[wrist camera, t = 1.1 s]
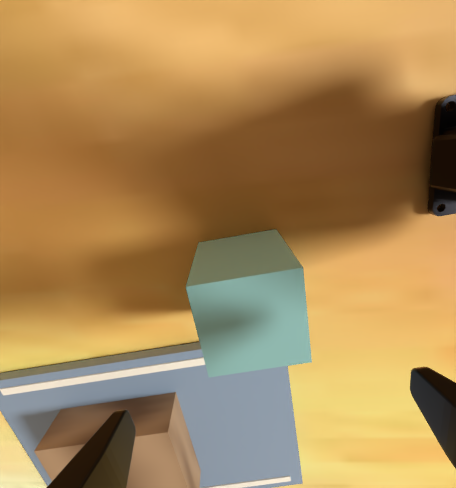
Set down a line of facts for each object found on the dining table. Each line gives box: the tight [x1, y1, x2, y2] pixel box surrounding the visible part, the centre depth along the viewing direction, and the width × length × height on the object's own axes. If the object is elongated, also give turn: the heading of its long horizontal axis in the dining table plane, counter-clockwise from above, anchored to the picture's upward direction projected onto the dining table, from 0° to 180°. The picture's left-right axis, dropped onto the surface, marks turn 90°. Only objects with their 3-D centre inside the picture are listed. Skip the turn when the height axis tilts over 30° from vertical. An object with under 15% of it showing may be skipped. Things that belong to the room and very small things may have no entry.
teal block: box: [186, 229, 312, 377], centre depth 15 cm, size 5×5×6 cm
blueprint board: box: [0, 342, 302, 488], centre depth 22 cm, size 22×16×1 cm
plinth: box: [34, 392, 201, 488], centre depth 20 cm, size 9×9×3 cm
